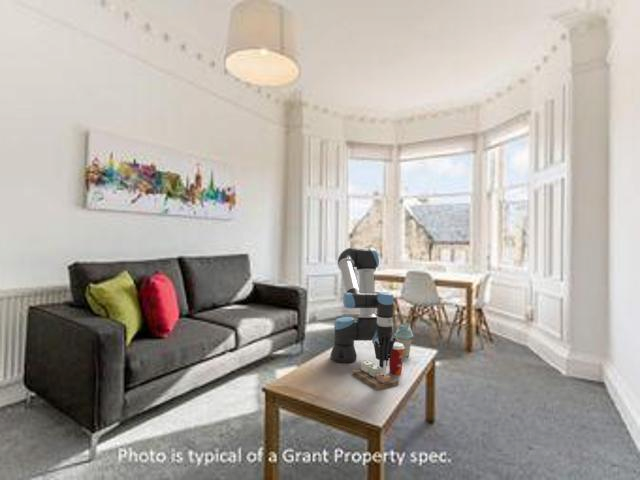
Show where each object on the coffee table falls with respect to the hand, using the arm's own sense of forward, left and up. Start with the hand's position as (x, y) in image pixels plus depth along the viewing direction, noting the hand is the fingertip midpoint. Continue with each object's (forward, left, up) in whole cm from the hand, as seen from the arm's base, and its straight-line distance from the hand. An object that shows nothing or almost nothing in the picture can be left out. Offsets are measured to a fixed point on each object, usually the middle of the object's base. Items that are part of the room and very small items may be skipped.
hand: (383, 373), depth 169 cm
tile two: (-6, 0, -3) cm, 7 cm away
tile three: (0, 0, -5) cm, 5 cm away
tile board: (-6, 0, -5) cm, 8 cm away
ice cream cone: (-26, +38, -6) cm, 46 cm away
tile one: (-12, 0, -3) cm, 13 cm away
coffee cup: (-8, +15, -6) cm, 18 cm away
